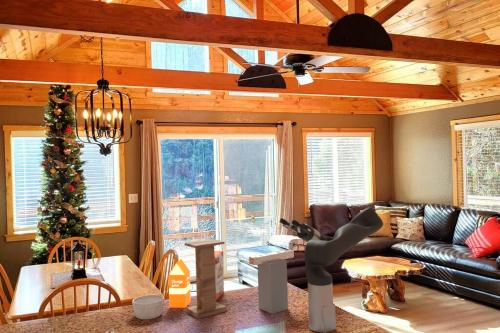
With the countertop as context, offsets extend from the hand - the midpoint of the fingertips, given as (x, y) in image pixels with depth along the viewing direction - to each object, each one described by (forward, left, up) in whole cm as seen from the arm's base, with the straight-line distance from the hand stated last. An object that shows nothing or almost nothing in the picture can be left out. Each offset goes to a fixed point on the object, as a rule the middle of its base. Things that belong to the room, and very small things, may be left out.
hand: (286, 220), depth 202 cm
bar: (-7, +14, -15) cm, 22 cm away
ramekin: (+22, +60, -37) cm, 73 cm away
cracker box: (+25, +25, -37) cm, 51 cm away
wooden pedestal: (+9, +39, -36) cm, 54 cm away
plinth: (-7, +15, -36) cm, 40 cm away
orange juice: (+26, +43, -37) cm, 62 cm away
